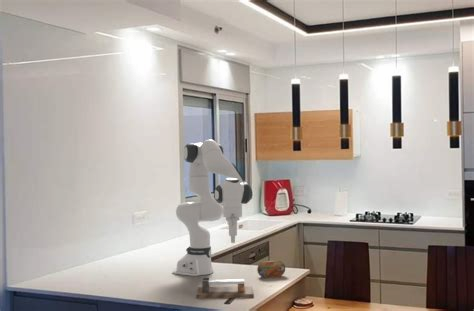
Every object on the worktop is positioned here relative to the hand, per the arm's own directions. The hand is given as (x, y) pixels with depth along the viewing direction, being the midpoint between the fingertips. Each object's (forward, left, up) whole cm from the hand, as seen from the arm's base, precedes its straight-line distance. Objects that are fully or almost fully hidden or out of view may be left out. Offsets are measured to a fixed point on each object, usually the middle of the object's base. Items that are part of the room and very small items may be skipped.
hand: (232, 242), depth 251 cm
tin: (+9, +37, -24) cm, 45 cm away
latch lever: (-4, -1, -19) cm, 20 cm away
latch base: (-4, -1, -24) cm, 24 cm away
